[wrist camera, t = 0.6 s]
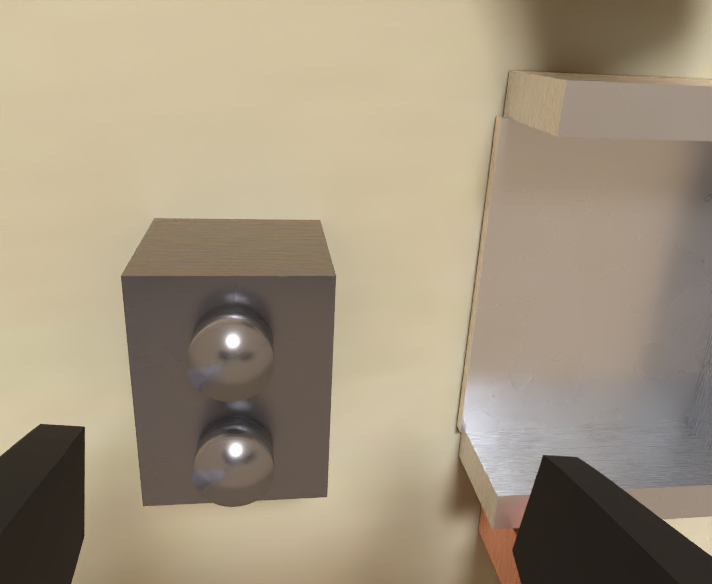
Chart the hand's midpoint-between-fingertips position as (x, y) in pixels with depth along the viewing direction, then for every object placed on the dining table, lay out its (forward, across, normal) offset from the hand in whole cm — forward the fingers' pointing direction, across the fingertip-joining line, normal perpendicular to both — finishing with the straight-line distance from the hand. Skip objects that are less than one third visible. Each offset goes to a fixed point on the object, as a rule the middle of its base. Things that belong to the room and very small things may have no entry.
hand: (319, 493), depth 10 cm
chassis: (+9, -11, +6) cm, 15 cm away
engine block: (+9, +2, +2) cm, 10 cm away
